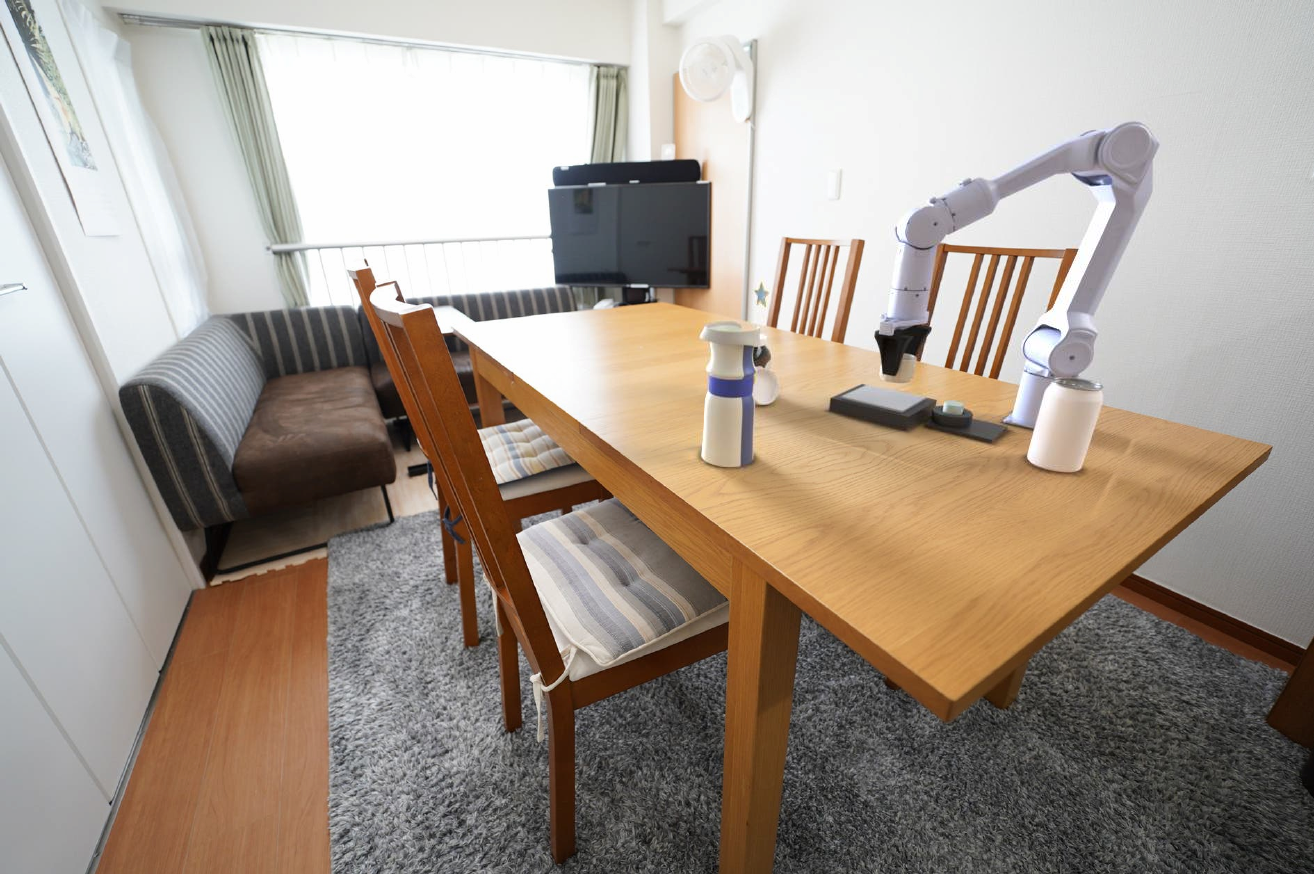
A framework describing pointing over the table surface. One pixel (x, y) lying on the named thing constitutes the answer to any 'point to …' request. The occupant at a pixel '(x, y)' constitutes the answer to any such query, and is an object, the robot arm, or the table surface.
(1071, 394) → the can
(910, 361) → the bowl
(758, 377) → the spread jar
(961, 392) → the table surface
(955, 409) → the button
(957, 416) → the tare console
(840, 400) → the scale
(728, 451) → the water bottle
